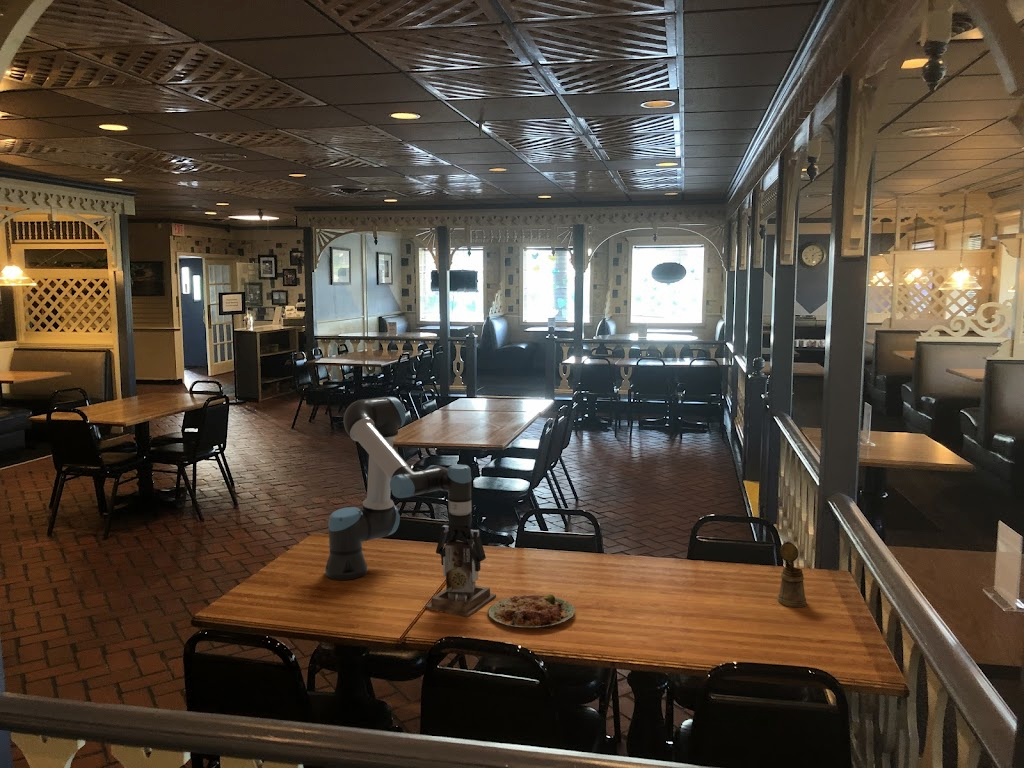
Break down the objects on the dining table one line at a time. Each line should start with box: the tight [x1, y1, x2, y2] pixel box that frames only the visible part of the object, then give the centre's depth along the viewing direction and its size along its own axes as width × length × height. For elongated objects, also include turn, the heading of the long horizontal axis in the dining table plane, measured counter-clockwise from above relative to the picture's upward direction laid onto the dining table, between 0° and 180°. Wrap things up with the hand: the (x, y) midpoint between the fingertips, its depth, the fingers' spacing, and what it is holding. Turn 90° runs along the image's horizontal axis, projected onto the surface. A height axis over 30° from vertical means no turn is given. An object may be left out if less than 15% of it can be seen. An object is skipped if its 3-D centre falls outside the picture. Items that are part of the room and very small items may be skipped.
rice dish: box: [487, 594, 576, 628], centre depth 252 cm, size 28×28×5 cm
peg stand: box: [424, 585, 497, 618], centre depth 262 cm, size 16×19×4 cm
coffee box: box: [444, 538, 477, 592], centre depth 261 cm, size 9×6×16 cm
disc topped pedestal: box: [777, 540, 808, 608], centre depth 262 cm, size 9×14×18 cm, turn 172°
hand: (460, 577), depth 261 cm, fingers closed on coffee box, 10 cm apart
